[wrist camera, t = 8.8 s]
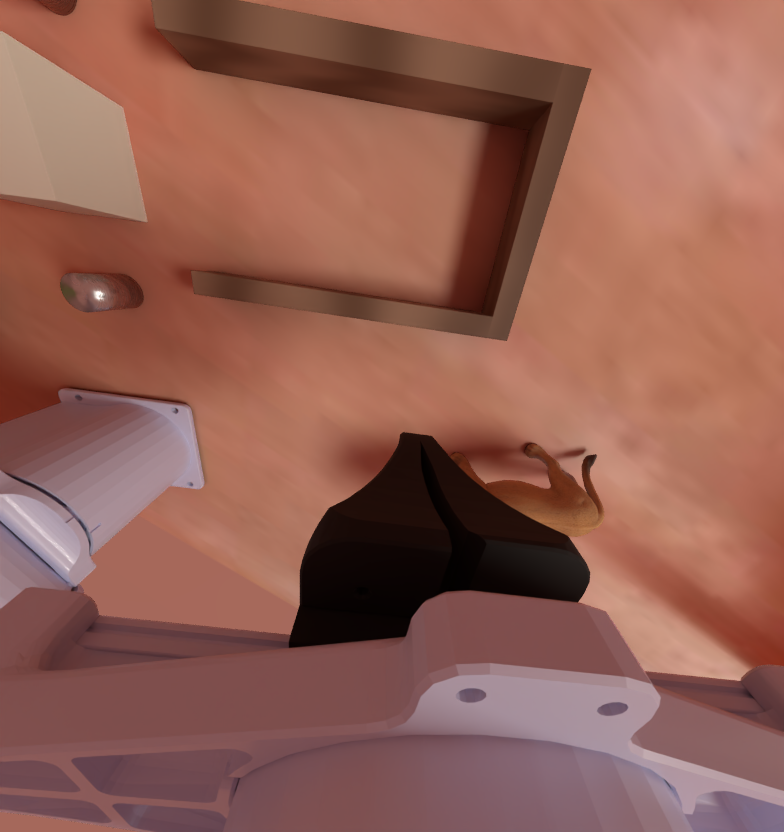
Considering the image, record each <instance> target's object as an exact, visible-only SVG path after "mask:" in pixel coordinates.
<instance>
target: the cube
mask: <svg viewBox="0 0 784 832" xmlns="http://www.w3.org/2000/svg"><path fill="white" fill-rule="evenodd" d="M0 199H4V200H9V201H14V202H19V203H24V204H28V205H33V206H38V207H43V208H48V209H52V210H57V211H63V212H70V213H78V214H86V215H93V216H101V217H109V218H117V219H124V220H132V221H140V222H147V217H146V212H145V208H144V203H143V198H142V194H141V189H140V184H139V180H138V175H137V170H136V165H135V161H134V156H133V151H132V147H131V142H130V137H129V133H128V128H127V123H126V119H125V114H124V109H123V107H121V106H120V105H118V104H117V103H115V102H113V101H112V100H110V99H109V98H107V97H106V96H104V95H102V94H101V93H99V92H98V91H96V90H94V89H93V88H91V87H90V86H88V85H86V84H85V83H83V82H82V81H80V80H79V79H77V78H75V77H74V76H72V75H71V74H69V73H67V72H66V71H64V70H63V69H61V68H60V67H58V66H56V65H55V64H53V63H52V62H50V61H48V60H47V59H45V58H44V57H42V56H41V55H39V54H37V53H36V52H34V51H33V50H31V49H29V48H28V47H26V46H25V45H23V44H22V43H20V42H18V41H17V40H15V39H14V38H12V37H10V36H9V35H7V34H6V33H4V32H3V31H0ZM147 223H148V222H147Z"/></svg>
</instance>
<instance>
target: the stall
mask: <svg viewBox="0 0 784 832" xmlns="http://www.w3.org/2000/svg"><path fill="white" fill-rule="evenodd" d="M151 2H152V9H153V15H154V22H155V28H156V29H157V30H158V31H159V32H160V33H161V34H162V35H163V36H164V37H165V38H166V39H167V41H168V42H169V43H170V44H171V45H172V46H173V47H174V48H175V49H176V50H177V51H178V52H179V53H180V54H181V55H182V56H183V57H184V58H185V59H186V60H187V61H188V62H189V64H190V65H191V66H192V67H193V68H194V69H198V70H203V71H209V72H214V73H220V74H225V75H230V76H236V77H241V78H247V79H252V80H258V81H263V82H269V83H274V84H280V85H285V86H290V87H296V88H301V89H307V90H312V91H318V92H323V93H329V94H334V95H340V96H345V97H350V98H356V99H361V100H367V101H372V102H378V103H383V104H389V105H394V106H400V107H405V108H411V109H416V110H421V111H427V112H432V113H438V114H443V115H449V116H454V117H460V118H465V119H471V120H476V121H481V122H487V123H492V124H498V125H503V126H509V127H514V128H520V129H525V130H529V133H528V137H527V141H526V144H525V148H524V152H523V156H522V160H521V163H520V167H519V171H518V175H517V179H516V183H515V186H514V190H513V194H512V198H511V202H510V205H509V209H508V213H507V217H506V221H505V225H504V228H503V232H502V236H501V240H500V244H499V247H498V251H497V255H496V259H495V263H494V267H493V270H492V274H491V278H490V282H489V286H488V289H487V293H486V297H485V301H484V305H483V309H482V312H474V311H468V310H461V309H455V308H448V307H442V306H435V305H429V304H422V303H416V302H409V301H403V300H396V299H390V298H383V297H377V296H370V295H364V294H358V293H351V292H345V291H338V290H332V289H325V288H319V287H312V286H306V285H299V284H293V283H286V282H280V281H273V280H267V279H260V278H254V277H247V276H241V275H234V274H228V273H221V272H211V271H194V270H191V276H192V282H193V289H194V294H198V295H205V296H211V297H218V298H225V299H231V300H238V301H244V302H251V303H258V304H264V305H271V306H278V307H284V308H291V309H298V310H304V311H311V312H318V313H324V314H331V315H337V316H344V317H351V318H357V319H364V320H371V321H377V322H384V323H391V324H397V325H404V326H410V327H417V328H424V329H430V330H437V331H444V332H450V333H457V334H464V335H470V336H477V337H484V338H490V339H497V340H503V341H507V339H508V336H509V332H510V329H511V326H512V323H513V319H514V316H515V313H516V310H517V307H518V303H519V300H520V297H521V294H522V291H523V287H524V284H525V281H526V278H527V274H528V271H529V268H530V265H531V262H532V258H533V255H534V252H535V249H536V246H537V242H538V239H539V236H540V233H541V229H542V226H543V223H544V220H545V217H546V213H547V210H548V207H549V204H550V200H551V197H552V194H553V191H554V188H555V184H556V181H557V178H558V175H559V172H560V168H561V165H562V162H563V159H564V155H565V152H566V149H567V146H568V143H569V139H570V136H571V133H572V130H573V127H574V123H575V120H576V117H577V114H578V110H579V107H580V104H581V101H582V98H583V94H584V91H585V88H586V85H587V82H588V78H589V75H590V72H591V69H589V68H584V67H579V66H574V65H569V64H564V63H558V62H553V61H548V60H543V59H538V58H533V57H528V56H522V55H517V54H512V53H507V52H502V51H497V50H492V49H486V48H481V47H476V46H471V45H466V44H461V43H456V42H450V41H445V40H440V39H435V38H430V37H425V36H420V35H414V34H409V33H404V32H399V31H394V30H389V29H384V28H378V27H373V26H368V25H363V24H358V23H353V22H348V21H342V20H337V19H332V18H327V17H322V16H317V15H312V14H306V13H301V12H296V11H291V10H286V9H281V8H276V7H270V6H265V5H260V4H255V3H250V2H245V1H240V0H151Z"/></svg>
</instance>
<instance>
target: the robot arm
mask: <svg viewBox="0 0 784 832" xmlns="http://www.w3.org/2000/svg"><path fill="white" fill-rule="evenodd" d="M58 395H59V398H60V401H61V403H58V404H55V405H52V406H49V407H47V408H44V409H41V410H38V411H35V412H33V413H30V414H27V415H24V416H21V417H19V418H16V419H13V420H10V421H7V422H5V423H2V424H0V812H7V813H16V814H23V815H32V816H39V817H46V818H53V819H60V820H67V821H74V822H81V823H87V824H93V825H100V826H106V827H113V828H119V829H126V830H133V831H139V832H784V666H778V665H762V666H758V667H755V668H753V669H752V670H750V671H748V672H747V673H746V674H745V675H744V676H743V677H742V678H741V681H735V680H725V679H716V678H706V677H696V676H686V675H677V674H667V673H657V672H647V671H644V670H643V668H642V667H641V665H640V663H639V662H638V660H637V659H636V657H635V655H634V654H633V652H632V651H631V649H630V648H629V646H628V644H627V643H626V641H625V640H624V638H623V637H622V635H621V633H620V632H619V630H618V629H617V627H616V625H615V624H614V622H613V621H612V620H611V618H610V617H609V615H608V614H607V613H606V612H605V611H603V610H600V609H597V608H594V607H591V606H588V605H585V604H582V603H578V602H579V600H580V599H581V597H582V596H583V594H584V593H585V591H586V588H587V586H588V584H589V582H590V571H589V568H588V566H587V564H586V562H585V561H584V559H583V558H582V556H581V555H580V553H579V552H578V550H577V549H576V547H575V546H574V544H573V543H572V541H571V540H570V538H569V537H568V536H567V535H565V534H563V533H561V532H559V531H557V530H555V529H553V528H550V527H548V526H546V525H544V524H542V523H540V522H537V521H536V520H534V519H532V518H530V517H528V516H526V515H524V514H523V513H521V512H519V511H517V510H515V509H514V508H512V507H510V506H509V505H507V504H506V503H504V502H503V501H501V500H500V499H498V498H497V497H495V496H494V495H492V494H491V493H489V492H488V491H487V490H485V489H484V488H483V487H481V486H480V485H479V484H478V483H476V482H475V481H474V480H473V479H472V478H471V477H469V476H468V475H467V474H466V473H465V472H464V471H463V470H462V469H461V468H460V467H459V466H458V465H457V464H456V463H455V462H454V461H453V460H452V459H451V458H450V457H449V456H448V454H447V453H446V452H445V451H444V450H443V449H442V447H441V446H440V445H439V444H438V443H437V441H436V440H435V439H434V438H433V437H432V436H428V435H420V434H413V433H405V432H403V433H402V434H400V439H399V444H398V446H397V448H396V450H395V452H394V454H393V455H392V457H391V458H390V460H389V461H388V463H387V464H386V465H385V467H384V468H383V469H382V470H381V471H380V472H379V474H378V475H377V476H376V477H375V478H374V479H372V480H371V481H370V482H369V483H368V484H367V485H366V486H365V487H363V488H362V489H361V490H359V491H358V492H356V493H355V494H354V495H352V496H351V497H349V498H348V499H346V500H344V501H342V502H340V503H338V504H336V505H334V506H332V507H330V508H329V509H328V510H327V512H326V513H325V515H324V516H323V518H322V519H321V521H320V522H319V524H318V526H317V527H316V529H315V531H314V533H313V535H312V537H311V539H310V541H309V543H308V545H307V548H306V551H305V554H304V557H303V560H302V564H301V569H300V606H299V609H298V612H297V616H296V619H295V623H294V625H293V629H292V632H291V635H286V634H277V633H267V632H257V631H248V630H238V629H228V628H218V627H209V626H199V625H189V624H179V623H169V622H160V621H150V620H140V619H130V618H121V617H111V616H101V615H99V613H98V609H97V605H96V603H95V601H94V600H93V599H92V598H91V597H89V596H87V595H86V594H84V590H83V588H82V586H81V585H80V584H79V583H80V582H81V581H82V580H83V579H84V578H85V577H86V576H87V575H88V574H89V573H91V572H92V571H93V570H94V569H95V568H96V564H95V563H94V562H93V561H92V559H91V556H92V555H93V554H94V553H95V552H96V551H97V550H99V549H100V548H101V547H102V546H103V545H104V544H105V543H106V542H108V541H109V540H110V539H111V538H112V537H113V536H114V535H116V534H117V533H118V532H119V531H120V530H121V529H122V528H123V527H124V526H126V525H127V524H128V523H129V522H130V521H131V520H132V519H133V518H135V517H136V516H137V515H138V514H139V513H140V512H141V511H142V510H144V509H145V508H146V507H147V506H148V505H149V504H150V503H151V502H153V501H154V500H155V499H156V498H157V497H158V496H159V495H160V494H162V493H163V492H164V491H165V490H166V489H167V488H168V487H169V486H177V487H185V488H193V489H201V488H202V487H203V486H204V478H203V472H202V466H201V461H200V455H199V450H198V444H197V439H196V433H195V427H194V422H193V416H192V411H191V408H190V407H189V406H188V405H186V404H182V403H175V402H167V401H160V400H153V399H145V398H138V397H130V396H123V395H115V394H108V393H100V392H93V391H86V390H78V389H71V388H64V389H61V390H59V391H58ZM175 408H177V409H178V411H177V410H176V409H175ZM191 482H192V483H191Z"/></svg>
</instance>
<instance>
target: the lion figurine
mask: <svg viewBox="0 0 784 832" xmlns="http://www.w3.org/2000/svg"><path fill="white" fill-rule="evenodd" d="M525 454H526V455H527V456H528V457H529V458H537V459H540V460H541V461H542V462H544V463H545V464H546V466H547V467H548V474H549V481H550V484H551V487H550V488H549V489H544V488H540V487H538V486H535V485H532V484H529V483H525V482H522V481H514V480H502V481H496V482H491V483H487V484H485V483H484V482H483V481H482V480H481V479H480V478H479V477H478V476H477V475H476V474H475V472H474V471H473V469H472V468H471V466H470V464H469V462H468V460H467V459H466V458H465V457H464V456H463V455H462V454H460V453H453V454H452V455H451V456H450V458H451V459H452V460H453V461H454V462H455V463H456V464H457V465H458V466H459V467H460V468H461V469H462V470H463V471H464V472H465V473H466V474H467V475H468V476H469V477H471V478H472V479H473V480H474V481H475V482H476V483H478V484H479V485H480V486H481V487H483V488H484V489H485V490H487V491H488V492H489V493H491V494H492V495H494V496H495V497H497V498H498V499H500V500H501V501H503V502H504V503H506V504H507V505H509V506H510V507H512V508H514V509H515V510H517V511H519V512H521V513H523V514H524V515H526V516H528V517H530V518H532V519H534V520H536V521H537V522H540V523H542V524H544V525H546V526H548V527H550V528H553V529H555V530H557V531H559V532H561V533H563V534H565V535H567V536H571V537H578V536H582V535H585V534H588V533H589V532H591V531H592V530H593V529H595V528H597V527H599V526H600V525H601V523H602V522H603V519H604V510H603V506H602V504H601V501H600V499H599V497H598V495H597V493H596V491H595V489H594V486H593V484H592V482H591V479H590V468H591V466H592V465H593V464H594V462H595V459H596V457H597V455H596V454H595V455H588V456H586V457H585V459H584V460H583V464H582V478H583V482H584V486H585V489H586V491H587V493H586V492H585V491H584V490H583V489H582V488H581V487H580V486H579V485H578V484H577V482H576V480H575V478H574V477H573V476H572V475H570V474H569V473H567V472H562V471H561V468H560V465H559V463H558V462H557V461H556V460H555V459H553V458H552V457H551V456H550V455H548V454H547V453H546V452H545V451H544V450H543V449H542V448H541V447H540V446H538V445H536V444H530V445H528V446H527V447H526V451H525Z"/></svg>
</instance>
